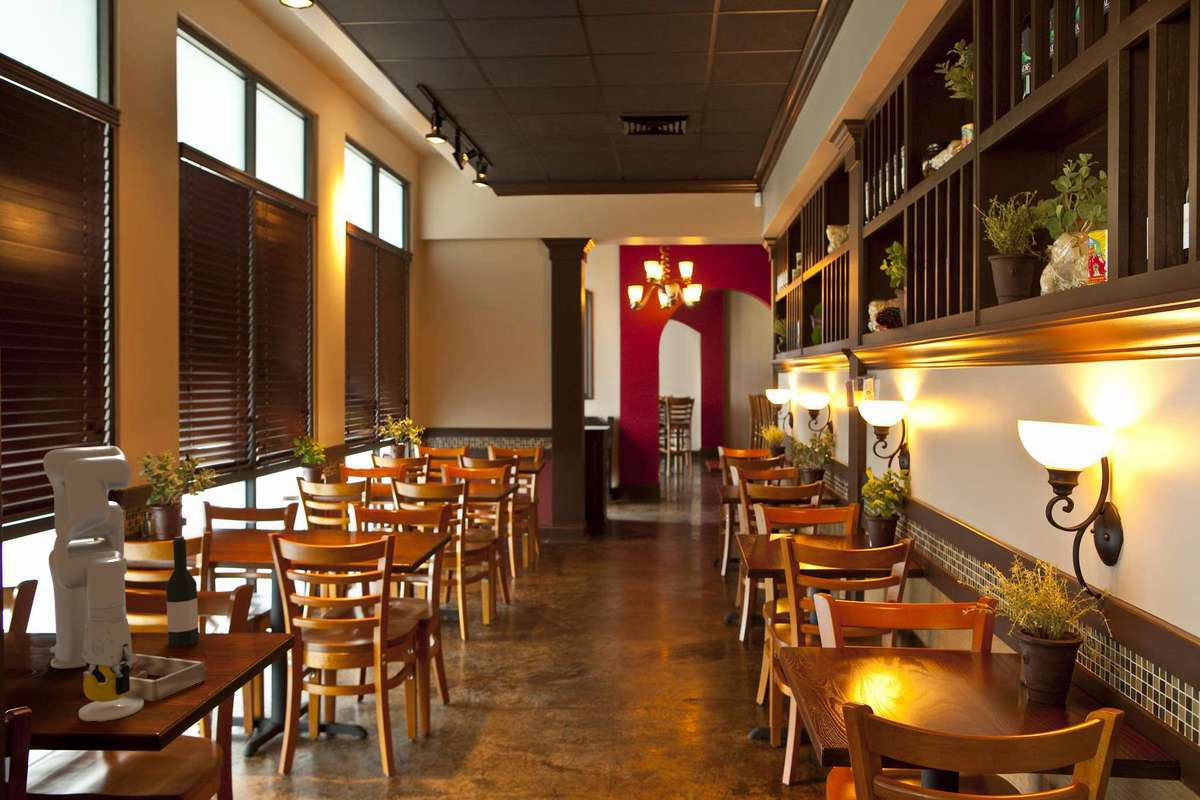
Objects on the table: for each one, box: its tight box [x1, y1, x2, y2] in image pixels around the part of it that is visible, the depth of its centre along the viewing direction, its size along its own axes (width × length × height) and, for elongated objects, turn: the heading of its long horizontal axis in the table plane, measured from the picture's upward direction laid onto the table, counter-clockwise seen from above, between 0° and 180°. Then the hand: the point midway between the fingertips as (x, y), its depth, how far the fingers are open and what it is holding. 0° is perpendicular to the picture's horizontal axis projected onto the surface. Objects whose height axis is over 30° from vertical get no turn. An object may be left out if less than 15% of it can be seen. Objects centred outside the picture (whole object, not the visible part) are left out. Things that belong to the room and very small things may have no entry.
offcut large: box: [132, 670, 148, 679], centre depth 226 cm, size 5×9×2 cm, turn 162°
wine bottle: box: [165, 535, 200, 647], centre depth 259 cm, size 8×8×30 cm
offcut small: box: [129, 664, 140, 677], centre depth 226 cm, size 4×6×2 cm, turn 172°
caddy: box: [82, 653, 206, 702], centre depth 224 cm, size 23×15×4 cm, turn 68°
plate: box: [78, 696, 145, 722], centre depth 207 cm, size 13×13×1 cm
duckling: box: [82, 657, 139, 702], centre depth 207 cm, size 11×5×10 cm, turn 121°
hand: (110, 690), depth 207 cm, fingers closed on duckling, 6 cm apart
